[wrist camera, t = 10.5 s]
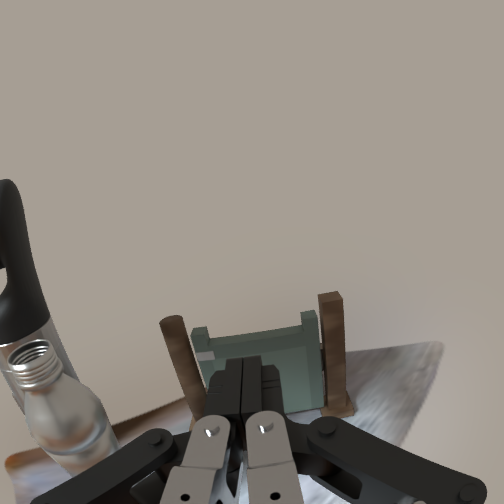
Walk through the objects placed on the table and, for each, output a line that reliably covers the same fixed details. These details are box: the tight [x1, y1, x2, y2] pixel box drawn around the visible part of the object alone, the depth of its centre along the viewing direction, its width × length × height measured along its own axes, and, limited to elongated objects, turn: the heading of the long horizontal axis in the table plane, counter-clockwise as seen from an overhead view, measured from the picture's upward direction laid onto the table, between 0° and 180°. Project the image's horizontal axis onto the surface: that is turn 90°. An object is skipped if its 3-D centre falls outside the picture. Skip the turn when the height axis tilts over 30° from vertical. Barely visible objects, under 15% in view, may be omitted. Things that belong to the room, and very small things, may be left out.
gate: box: [191, 310, 324, 413], centre depth 30 cm, size 12×2×12 cm, turn 89°
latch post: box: [318, 291, 354, 418], centre depth 30 cm, size 4×4×15 cm
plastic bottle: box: [7, 339, 146, 487], centre depth 16 cm, size 6×7×20 cm
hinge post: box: [159, 315, 207, 431], centre depth 30 cm, size 4×4×15 cm
